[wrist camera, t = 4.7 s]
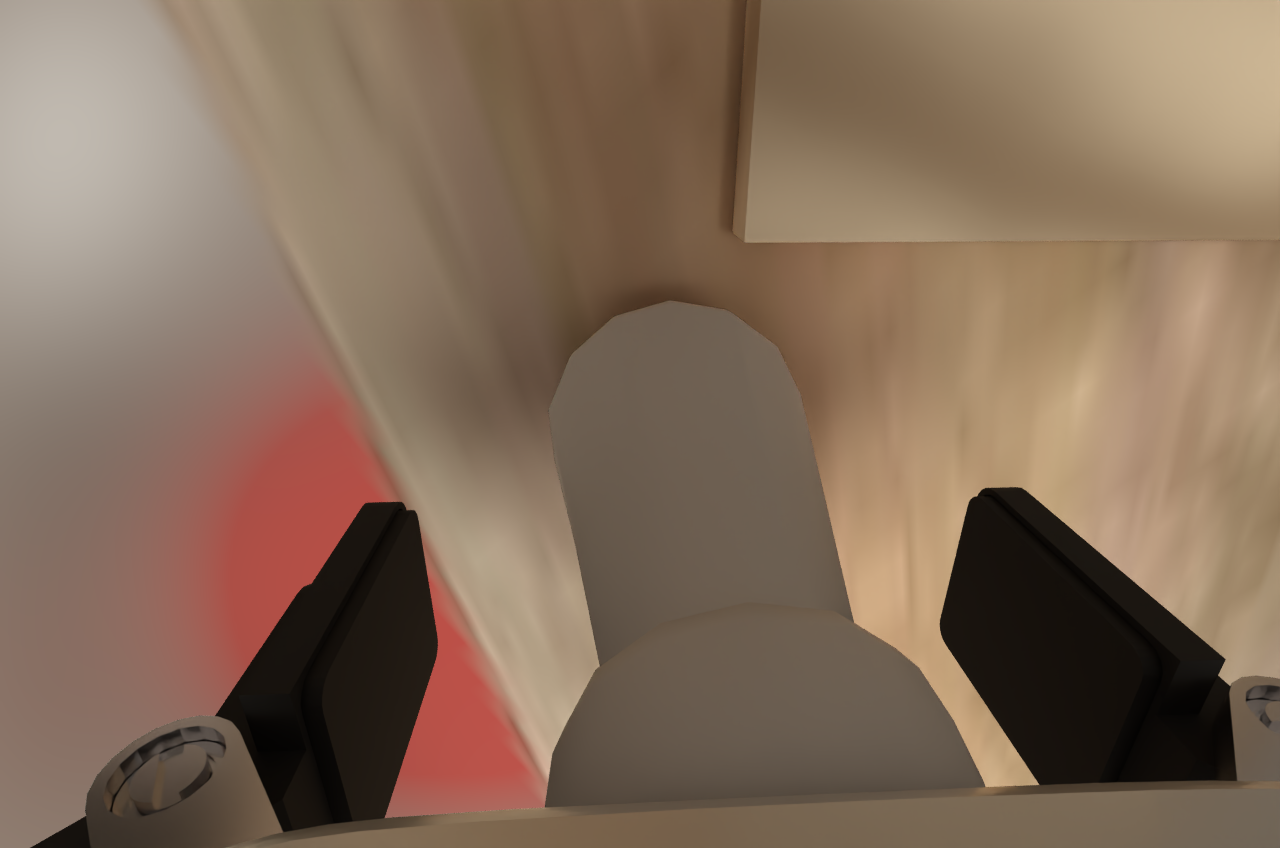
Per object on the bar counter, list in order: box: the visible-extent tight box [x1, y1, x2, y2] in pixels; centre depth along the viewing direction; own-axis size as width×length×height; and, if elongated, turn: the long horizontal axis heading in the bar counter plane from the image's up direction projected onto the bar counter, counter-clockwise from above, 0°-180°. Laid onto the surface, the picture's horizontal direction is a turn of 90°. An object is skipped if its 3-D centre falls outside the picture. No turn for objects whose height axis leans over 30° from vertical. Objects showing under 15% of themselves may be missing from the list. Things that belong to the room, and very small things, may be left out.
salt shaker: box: [545, 300, 985, 808], centre depth 11 cm, size 6×6×13 cm
